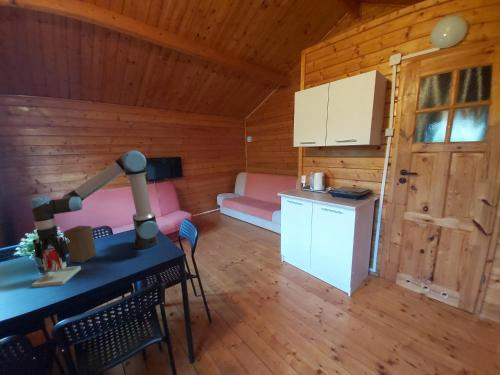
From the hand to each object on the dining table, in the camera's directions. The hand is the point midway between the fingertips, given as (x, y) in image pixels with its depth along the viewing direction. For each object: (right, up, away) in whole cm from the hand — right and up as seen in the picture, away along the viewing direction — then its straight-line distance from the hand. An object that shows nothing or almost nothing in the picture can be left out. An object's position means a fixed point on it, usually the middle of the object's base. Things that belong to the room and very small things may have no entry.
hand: (55, 268), depth 113 cm
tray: (0, -6, +1) cm, 6 cm away
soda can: (0, -1, 0) cm, 1 cm away
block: (-1, -2, +21) cm, 21 cm away
